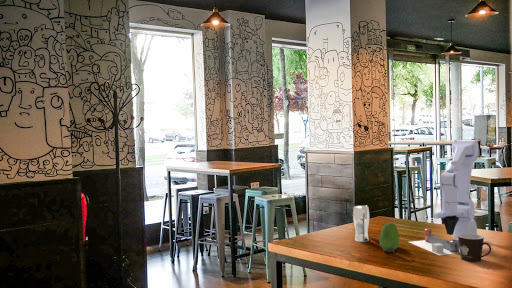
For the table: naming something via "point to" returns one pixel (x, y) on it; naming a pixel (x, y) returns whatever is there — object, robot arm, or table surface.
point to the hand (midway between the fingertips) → (450, 234)
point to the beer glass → (361, 223)
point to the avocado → (389, 237)
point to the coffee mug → (471, 247)
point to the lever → (442, 241)
